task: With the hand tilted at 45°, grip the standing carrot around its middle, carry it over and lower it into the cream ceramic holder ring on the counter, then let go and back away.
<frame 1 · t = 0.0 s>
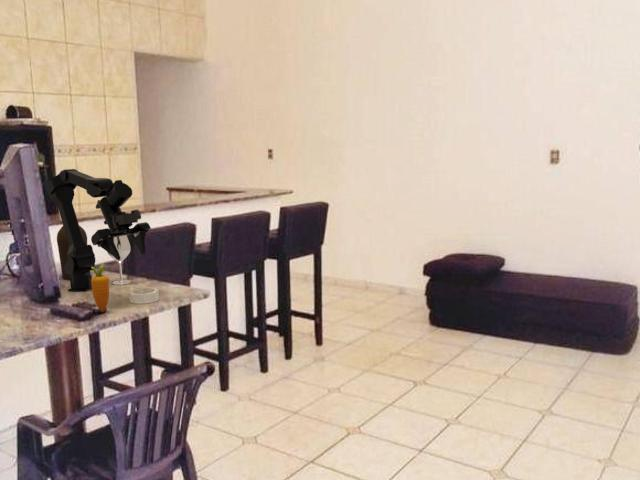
hand: (132, 256, 194), 15 cm above the table, tool tilted 35°, fingers open, 9 cm apart
wineglass: (121, 283, 224), on the table
holder: (144, 300, 200), on the table
olive oil: (76, 277, 234), on the table
carrot: (102, 312, 187), on the table
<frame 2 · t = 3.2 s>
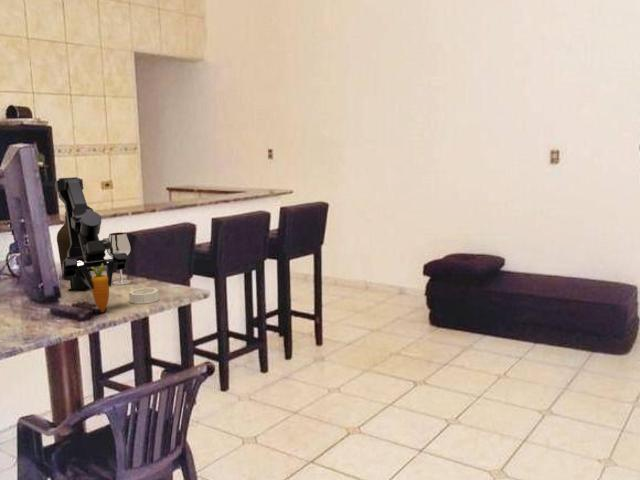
hand: (101, 287, 185), 8 cm above the table, tool tilted 45°, fingers closed on carrot, 5 cm apart
carrot: (102, 312, 187), on the table, touching gripper
everything else where it was.
when the fingers open (9 cm above the table, at t = 7.6 s): carrot stays where it is, resting on holder.
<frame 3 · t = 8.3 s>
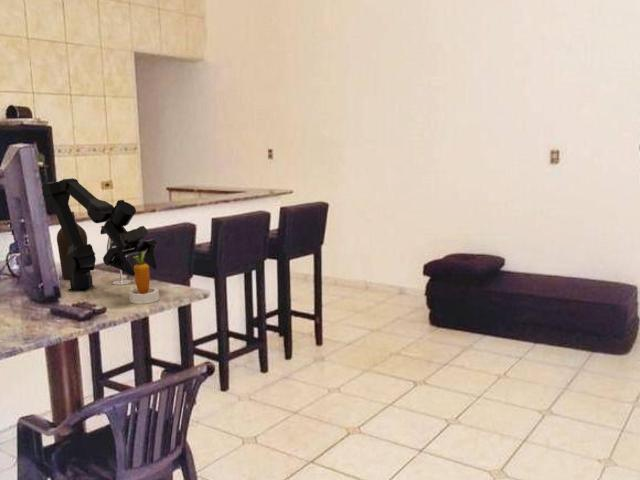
hand: (145, 271, 197), 10 cm above the table, tool tilted 45°, fingers open, 9 cm apart
carrot: (144, 298, 200), resting on holder
everything else where it was.
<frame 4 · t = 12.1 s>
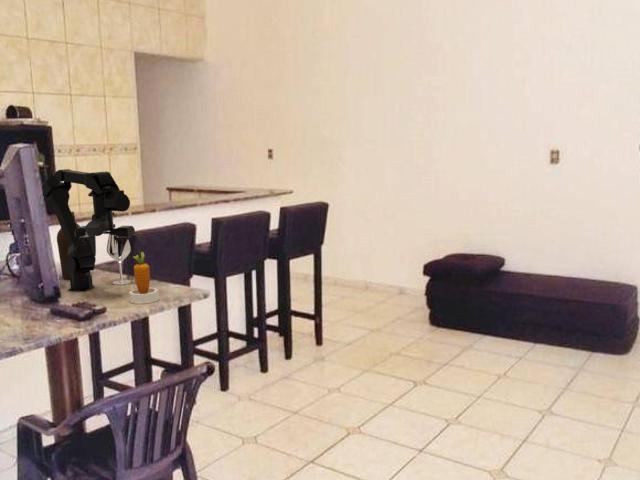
hand: (107, 256, 206), 13 cm above the table, tool pointing down, fingers open, 9 cm apart
nothing on the table moved.
at the end: carrot 0.2 cm off-centre on the holder, point 0.4 cm above the holder's base; carrot tilted 0°; the gripper is holding nothing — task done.
